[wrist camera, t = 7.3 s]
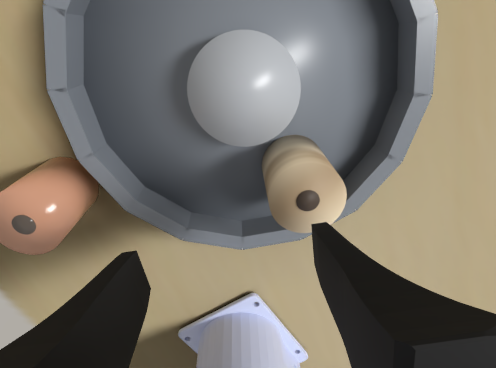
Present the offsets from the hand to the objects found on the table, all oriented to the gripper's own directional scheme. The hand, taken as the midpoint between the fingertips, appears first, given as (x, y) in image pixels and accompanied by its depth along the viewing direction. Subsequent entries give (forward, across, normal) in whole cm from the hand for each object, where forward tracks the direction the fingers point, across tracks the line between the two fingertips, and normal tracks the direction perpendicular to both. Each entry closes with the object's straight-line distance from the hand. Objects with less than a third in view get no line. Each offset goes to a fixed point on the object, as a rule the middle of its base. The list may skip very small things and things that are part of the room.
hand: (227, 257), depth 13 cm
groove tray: (+9, -2, -5) cm, 11 cm away
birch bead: (+9, -4, 0) cm, 10 cm away
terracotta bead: (+9, +11, -1) cm, 14 cm away
